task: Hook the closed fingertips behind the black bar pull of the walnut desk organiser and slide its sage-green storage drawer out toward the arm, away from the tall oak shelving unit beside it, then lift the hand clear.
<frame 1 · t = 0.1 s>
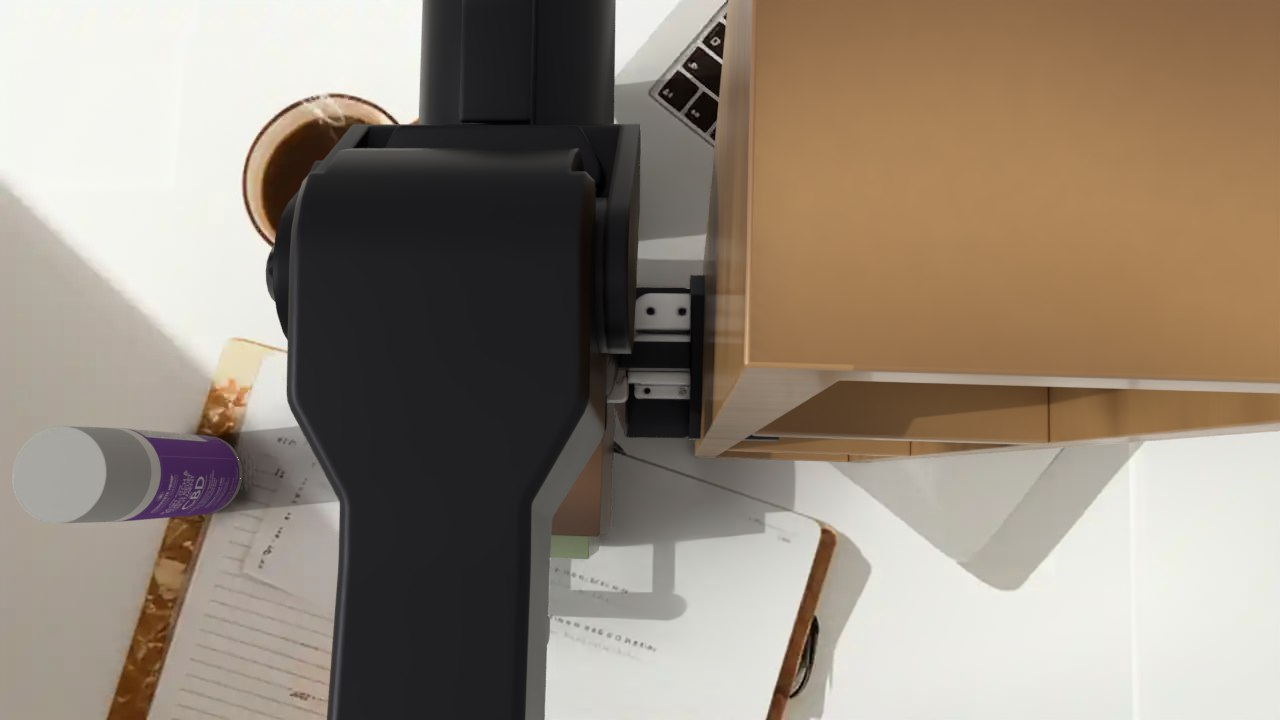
hand: (564, 376, 50), 14 cm above the table, tool pointing down, fingers open, 5 cm apart
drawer: (493, 469, 59), point 4 cm above the table, slide at 0.0 cm
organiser: (509, 400, 64), on the table
container: (205, 474, 64), on the table
rack: (781, 391, 63), on the table
small box: (553, 171, 65), on the table
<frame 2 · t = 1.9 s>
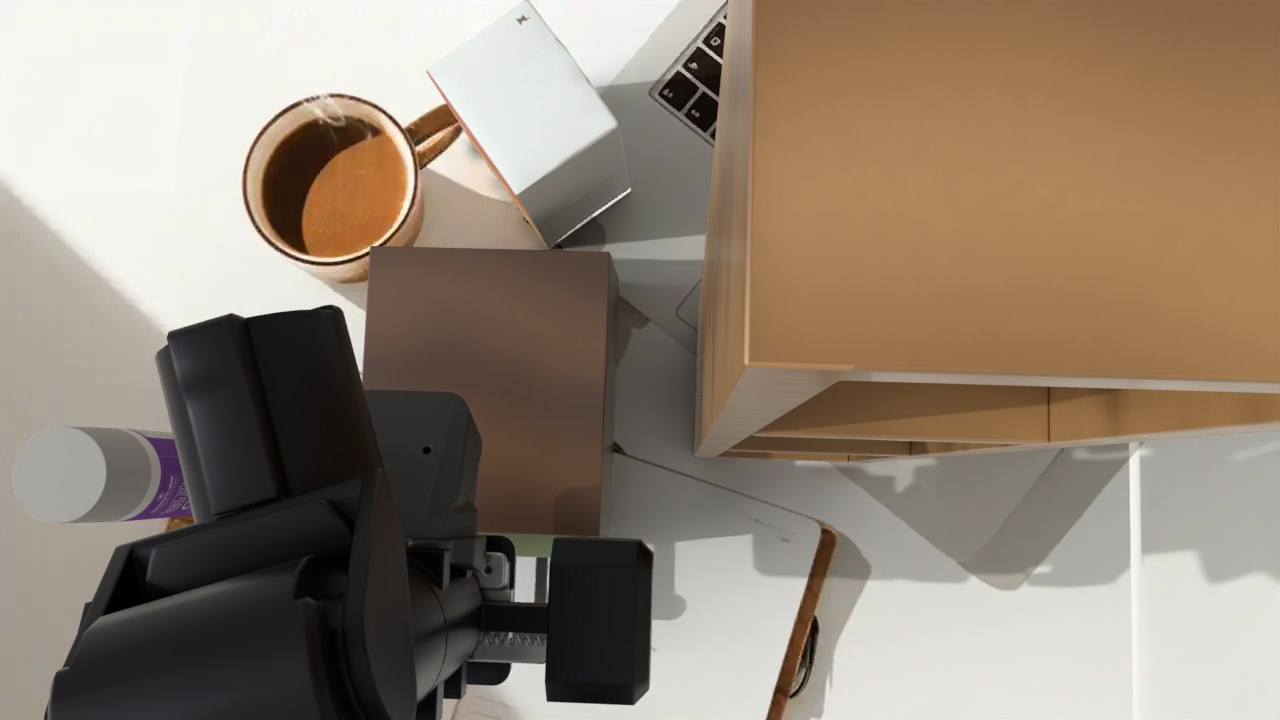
hand: (458, 589, 51), 12 cm above the table, tool pointing down, fingers closed
nothing on the table moved.
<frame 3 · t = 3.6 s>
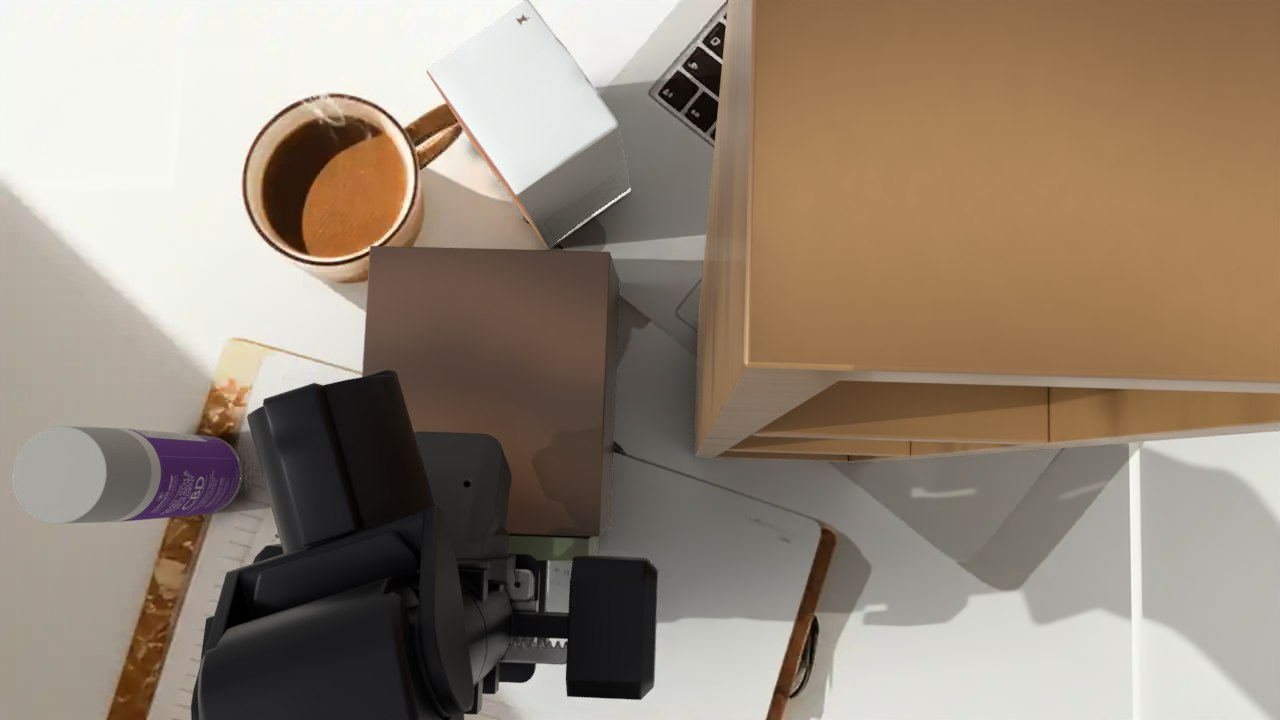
hand: (487, 599, 58), 4 cm above the table, tool pointing down, fingers closed, pressing on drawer
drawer: (493, 472, 59), point 4 cm above the table, slide at 0.1 cm, touching gripper
everything else where it was.
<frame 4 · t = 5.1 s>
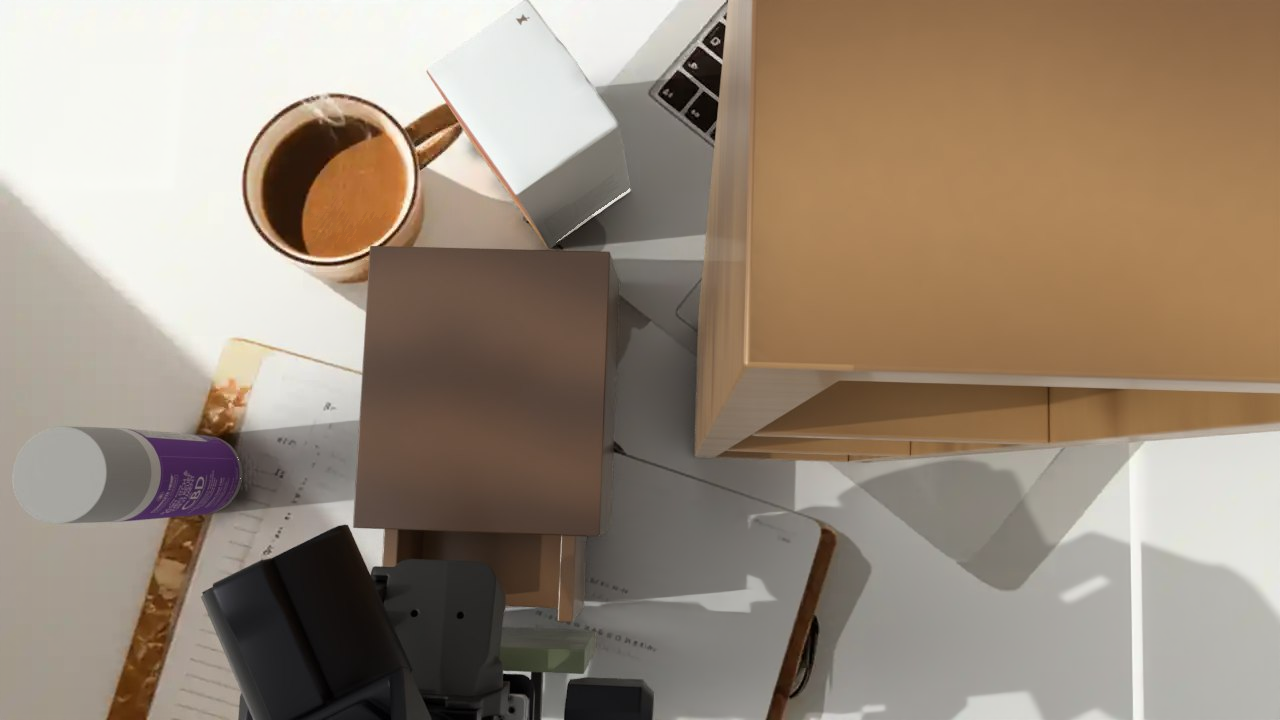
hand: (481, 705, 57), 4 cm above the table, tool pointing down, fingers closed, pressing on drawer
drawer: (488, 575, 58), point 4 cm above the table, slide at 5.7 cm, touching gripper
everything else where it was.
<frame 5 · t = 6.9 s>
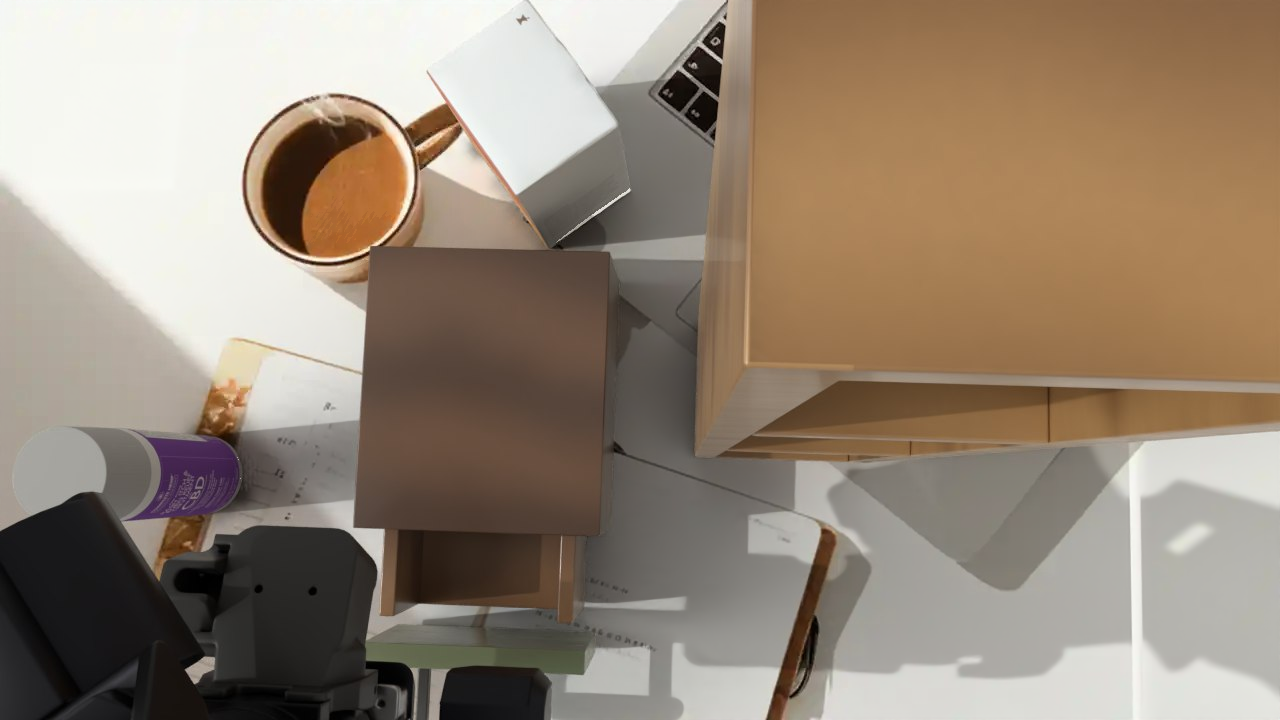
hand: (370, 699, 50), 12 cm above the table, tool pointing down, fingers closed
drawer: (488, 576, 58), point 4 cm above the table, slide at 5.8 cm
everything else where it was.
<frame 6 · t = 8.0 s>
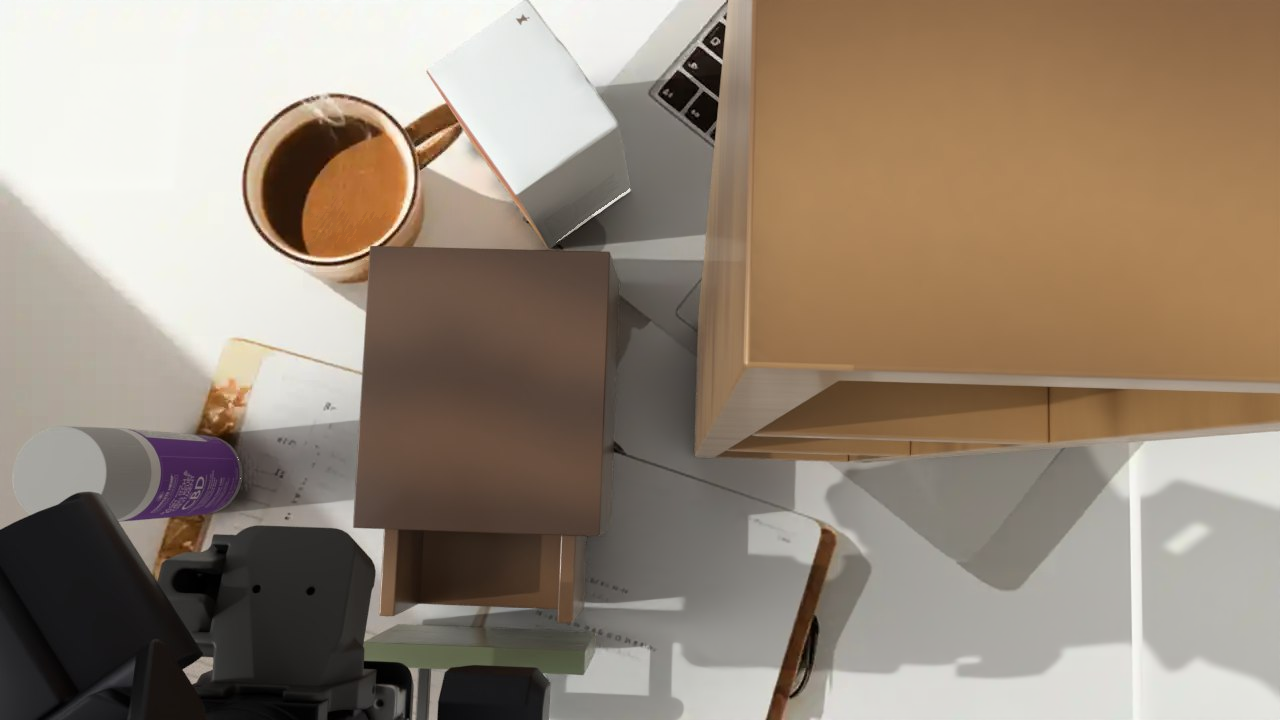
hand: (369, 699, 50), 12 cm above the table, tool pointing down, fingers closed
nothing on the table moved.
at the end: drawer slide at 5.8 cm; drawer inside the target area on the table beside the rack (1.5 cm from its centre), resting on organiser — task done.
